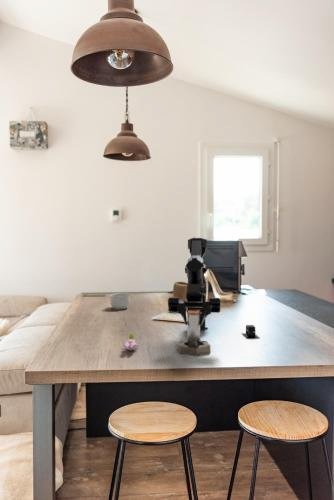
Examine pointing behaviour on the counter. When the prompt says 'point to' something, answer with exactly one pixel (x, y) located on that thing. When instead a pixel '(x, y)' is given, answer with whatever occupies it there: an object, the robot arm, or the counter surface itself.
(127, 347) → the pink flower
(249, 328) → the black flanged block
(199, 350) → the ring nut
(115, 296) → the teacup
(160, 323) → the counter surface
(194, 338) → the grey copper-topped cylinder
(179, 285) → the stone cup
